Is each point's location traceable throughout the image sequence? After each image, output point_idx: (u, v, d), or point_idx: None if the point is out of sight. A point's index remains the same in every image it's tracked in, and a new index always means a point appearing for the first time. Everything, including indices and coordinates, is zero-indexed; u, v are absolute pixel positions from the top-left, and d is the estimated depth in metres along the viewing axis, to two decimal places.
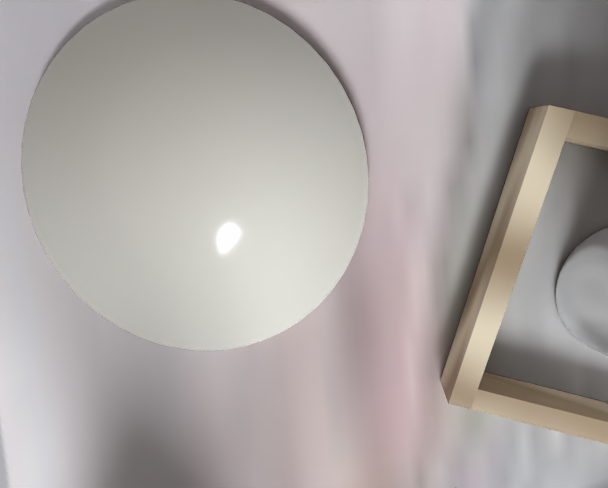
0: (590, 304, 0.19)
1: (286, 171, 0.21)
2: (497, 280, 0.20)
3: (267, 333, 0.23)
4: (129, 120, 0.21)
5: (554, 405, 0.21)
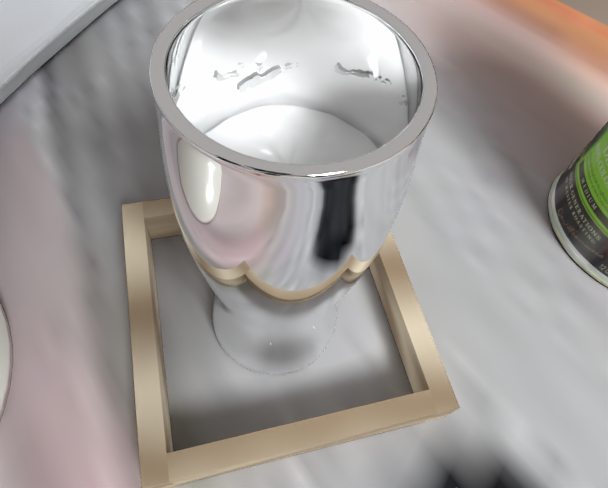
0: (220, 314, 0.21)
1: None
2: (138, 336, 0.21)
3: None
4: None
5: (256, 432, 0.19)
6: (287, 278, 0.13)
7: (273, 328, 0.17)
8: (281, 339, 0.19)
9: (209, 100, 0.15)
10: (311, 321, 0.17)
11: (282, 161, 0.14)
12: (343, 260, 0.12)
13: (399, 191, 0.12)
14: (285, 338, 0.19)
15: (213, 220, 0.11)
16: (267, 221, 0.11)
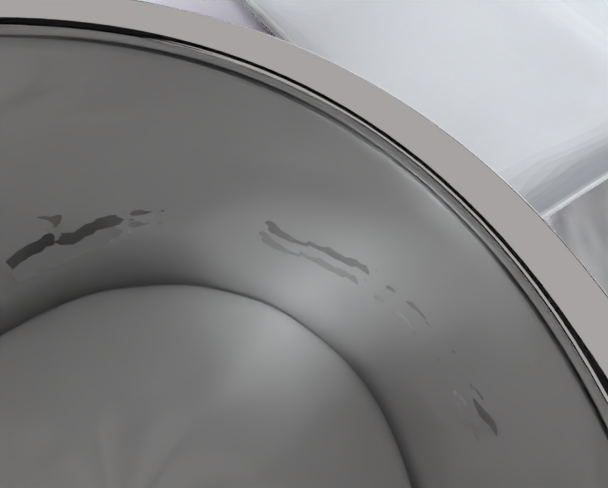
0: None
1: None
2: None
3: None
4: None
5: None
6: None
7: None
8: None
9: None
10: None
11: None
12: None
13: None
14: None
15: None
16: None
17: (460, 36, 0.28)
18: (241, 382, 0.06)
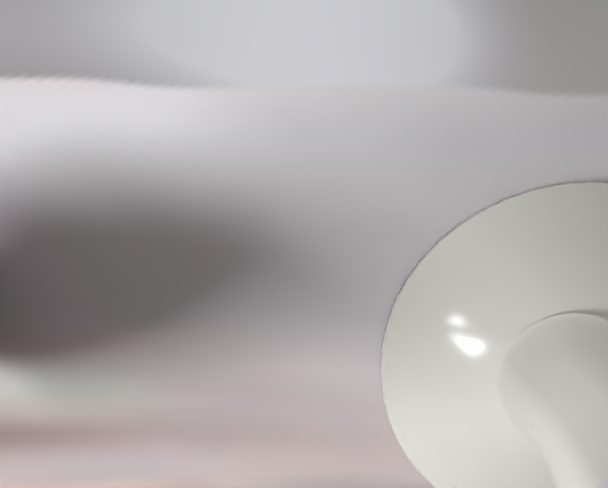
0: (564, 356, 0.17)
1: None
2: None
3: (402, 437, 0.21)
4: None
5: None
6: None
7: (552, 472, 0.15)
8: (539, 447, 0.17)
9: None
10: None
11: None
12: None
13: None
14: (541, 452, 0.17)
15: None
16: None
17: None
18: None
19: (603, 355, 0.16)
